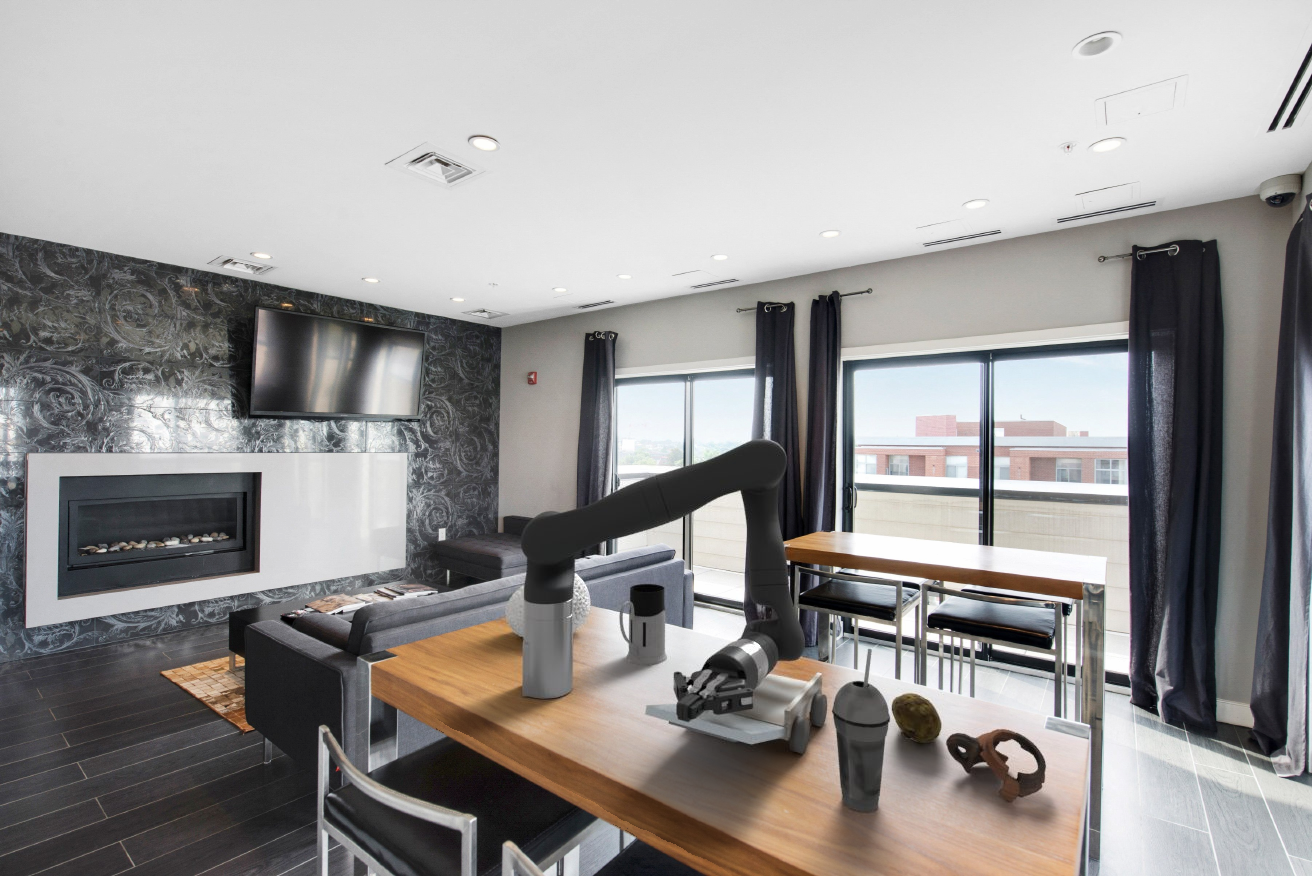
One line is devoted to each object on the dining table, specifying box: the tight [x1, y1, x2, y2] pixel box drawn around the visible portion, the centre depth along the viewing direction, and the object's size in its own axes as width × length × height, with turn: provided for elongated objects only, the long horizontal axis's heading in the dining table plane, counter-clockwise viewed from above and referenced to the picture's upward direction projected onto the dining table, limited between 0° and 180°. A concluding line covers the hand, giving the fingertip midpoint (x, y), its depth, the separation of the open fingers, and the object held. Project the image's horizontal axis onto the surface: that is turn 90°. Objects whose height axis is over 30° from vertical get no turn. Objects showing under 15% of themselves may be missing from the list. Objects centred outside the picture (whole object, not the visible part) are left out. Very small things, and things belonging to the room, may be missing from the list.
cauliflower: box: [504, 573, 592, 639], centre depth 146 cm, size 20×18×16 cm
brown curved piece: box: [945, 728, 1047, 803], centre depth 85 cm, size 12×10×8 cm
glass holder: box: [618, 583, 668, 666], centre depth 130 cm, size 9×14×15 cm, turn 148°
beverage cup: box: [831, 648, 891, 813], centre depth 80 cm, size 7×7×20 cm
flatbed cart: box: [722, 672, 828, 755], centre depth 102 cm, size 18×19×7 cm
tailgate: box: [644, 703, 786, 745], centre depth 88 cm, size 2×16×14 cm
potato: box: [891, 692, 942, 744], centre depth 97 cm, size 8×13×8 cm, turn 140°
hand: (682, 713), depth 79 cm, fingers closed
